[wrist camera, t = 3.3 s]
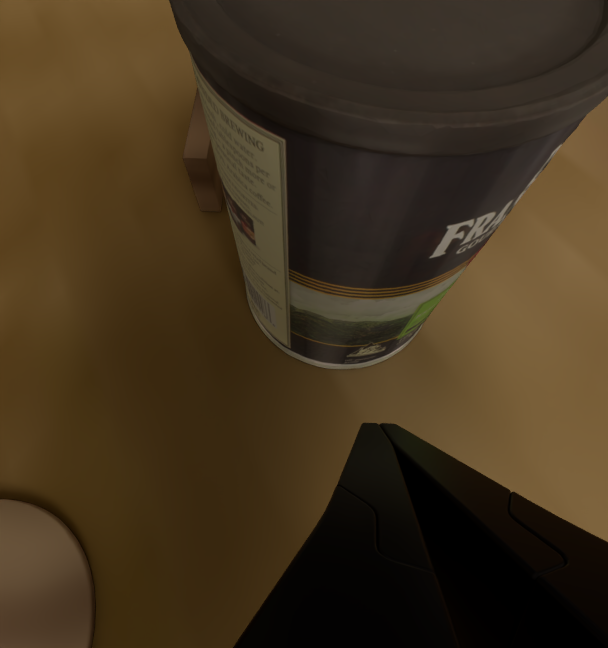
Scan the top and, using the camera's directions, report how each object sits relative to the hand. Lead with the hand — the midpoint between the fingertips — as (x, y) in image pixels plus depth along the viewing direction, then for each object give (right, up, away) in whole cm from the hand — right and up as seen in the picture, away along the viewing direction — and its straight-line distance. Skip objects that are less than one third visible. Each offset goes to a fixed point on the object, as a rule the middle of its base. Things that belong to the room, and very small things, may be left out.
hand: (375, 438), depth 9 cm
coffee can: (0, +5, +12) cm, 13 cm away
